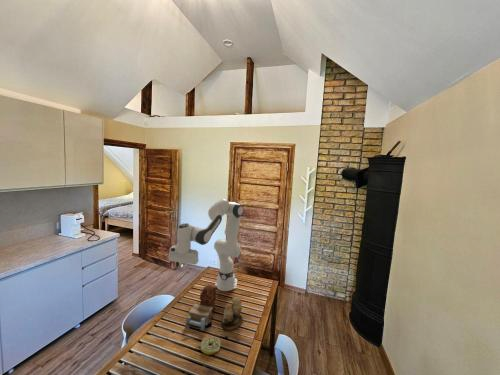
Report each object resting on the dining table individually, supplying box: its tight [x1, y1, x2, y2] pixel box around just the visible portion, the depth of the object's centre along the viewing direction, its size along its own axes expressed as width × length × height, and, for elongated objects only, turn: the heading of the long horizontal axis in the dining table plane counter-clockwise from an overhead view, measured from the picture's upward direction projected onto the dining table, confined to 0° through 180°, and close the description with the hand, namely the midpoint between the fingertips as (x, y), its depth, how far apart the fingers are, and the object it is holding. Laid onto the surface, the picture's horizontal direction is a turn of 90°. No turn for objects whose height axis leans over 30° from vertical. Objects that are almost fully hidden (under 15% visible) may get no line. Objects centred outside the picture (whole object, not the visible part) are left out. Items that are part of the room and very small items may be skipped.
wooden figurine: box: [199, 284, 217, 312], centre depth 153 cm, size 12×6×18 cm, turn 147°
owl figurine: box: [220, 296, 244, 333], centre depth 143 cm, size 18×12×17 cm, turn 150°
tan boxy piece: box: [184, 303, 214, 329], centre depth 142 cm, size 14×13×7 cm
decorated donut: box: [200, 336, 221, 356], centre depth 122 cm, size 10×11×4 cm
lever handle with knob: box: [185, 315, 206, 332], centre depth 136 cm, size 12×3×7 cm, turn 73°
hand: (183, 268), depth 148 cm, fingers closed
